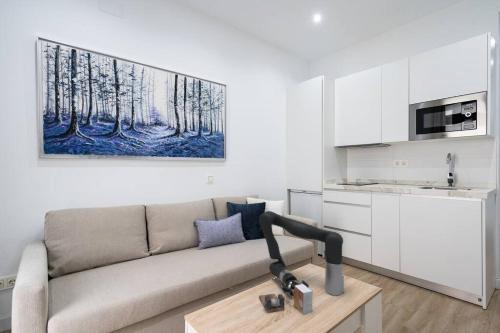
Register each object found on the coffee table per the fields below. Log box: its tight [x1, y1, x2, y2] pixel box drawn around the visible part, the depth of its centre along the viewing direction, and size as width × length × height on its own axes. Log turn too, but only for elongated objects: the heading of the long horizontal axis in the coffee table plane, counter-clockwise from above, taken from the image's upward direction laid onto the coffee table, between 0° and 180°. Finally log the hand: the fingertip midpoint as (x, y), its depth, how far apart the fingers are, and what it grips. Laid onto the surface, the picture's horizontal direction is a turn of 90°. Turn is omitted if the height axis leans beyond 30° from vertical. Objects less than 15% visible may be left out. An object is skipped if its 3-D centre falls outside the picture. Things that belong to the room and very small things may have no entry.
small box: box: [293, 284, 313, 315], centre depth 122 cm, size 8×6×10 cm
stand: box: [258, 293, 286, 314], centre depth 126 cm, size 9×14×6 cm, turn 15°
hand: (300, 293), depth 124 cm, fingers open, 8 cm apart
